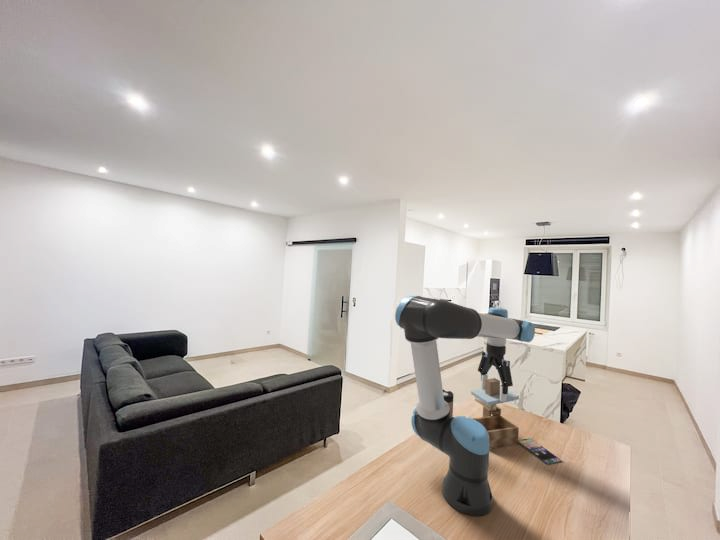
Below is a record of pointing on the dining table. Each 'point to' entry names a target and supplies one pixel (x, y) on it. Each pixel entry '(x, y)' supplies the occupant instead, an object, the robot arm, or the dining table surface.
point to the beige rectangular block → (491, 407)
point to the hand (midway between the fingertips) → (493, 395)
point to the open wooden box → (498, 428)
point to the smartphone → (539, 451)
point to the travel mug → (449, 400)
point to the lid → (492, 393)
